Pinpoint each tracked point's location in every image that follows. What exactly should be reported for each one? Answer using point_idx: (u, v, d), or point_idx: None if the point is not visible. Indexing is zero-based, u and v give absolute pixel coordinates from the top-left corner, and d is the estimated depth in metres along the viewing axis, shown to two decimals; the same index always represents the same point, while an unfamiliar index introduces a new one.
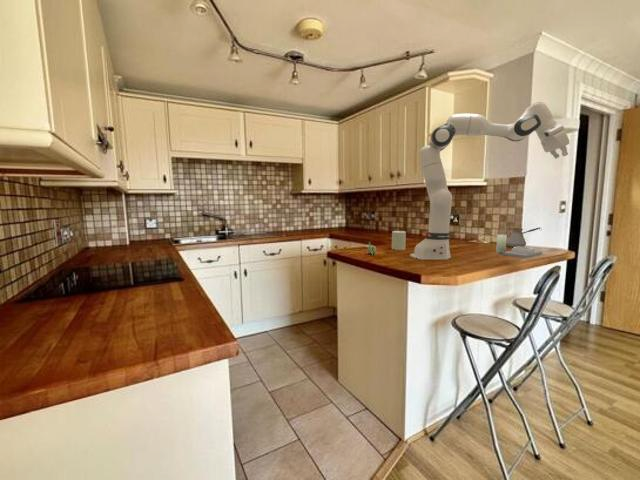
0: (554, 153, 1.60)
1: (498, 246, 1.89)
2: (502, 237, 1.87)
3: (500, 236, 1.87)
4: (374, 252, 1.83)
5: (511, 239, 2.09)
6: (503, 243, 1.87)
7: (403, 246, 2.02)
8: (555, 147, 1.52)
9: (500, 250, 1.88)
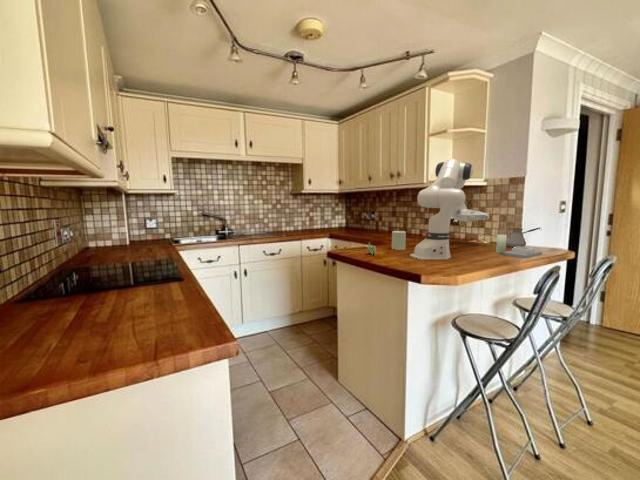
0: None
1: (498, 246, 1.89)
2: (502, 237, 1.87)
3: (500, 236, 1.87)
4: (374, 252, 1.84)
5: (511, 239, 2.09)
6: (503, 243, 1.87)
7: (403, 246, 2.02)
8: (480, 214, 2.12)
9: (500, 250, 1.88)
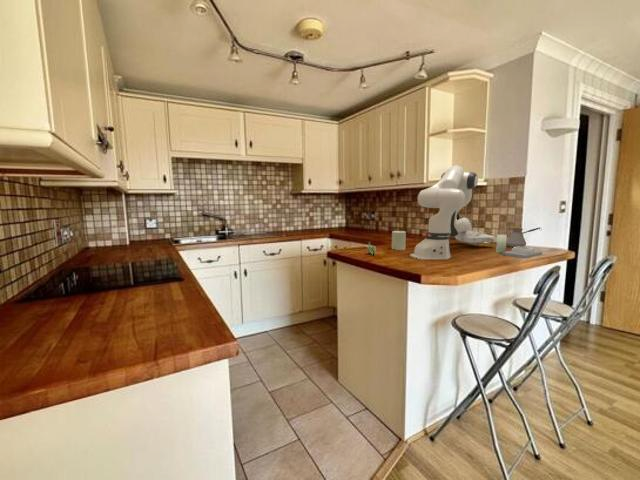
0: None
1: (498, 246, 1.89)
2: (502, 237, 1.87)
3: (500, 236, 1.87)
4: (374, 252, 1.84)
5: (511, 239, 2.09)
6: (503, 243, 1.87)
7: (403, 246, 2.02)
8: (486, 236, 2.06)
9: (500, 250, 1.88)
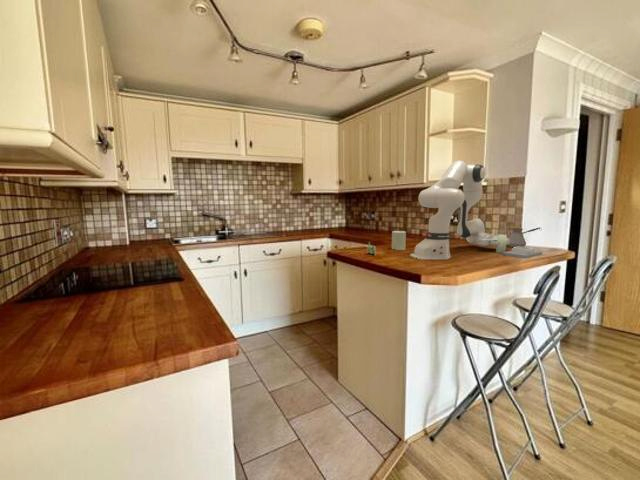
0: None
1: (498, 246, 1.89)
2: (502, 237, 1.87)
3: (500, 236, 1.87)
4: (374, 252, 1.84)
5: (511, 239, 2.09)
6: (503, 243, 1.87)
7: (403, 246, 2.02)
8: None
9: (500, 250, 1.88)
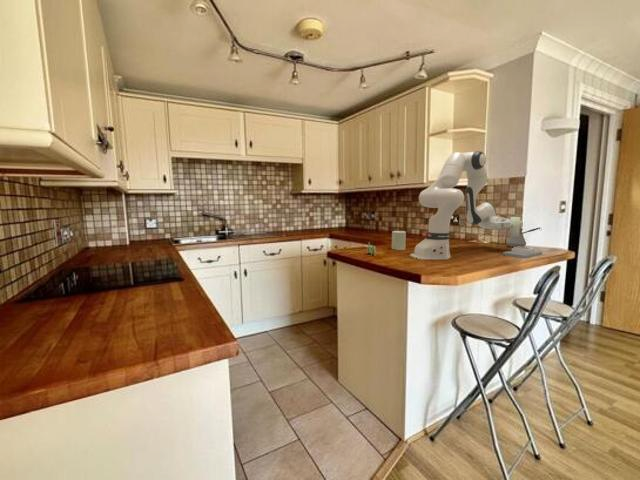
0: None
1: (512, 228, 1.84)
2: (516, 219, 1.82)
3: (514, 218, 1.83)
4: (373, 252, 1.84)
5: (511, 239, 2.09)
6: (517, 225, 1.82)
7: (403, 246, 2.02)
8: None
9: (513, 232, 1.83)
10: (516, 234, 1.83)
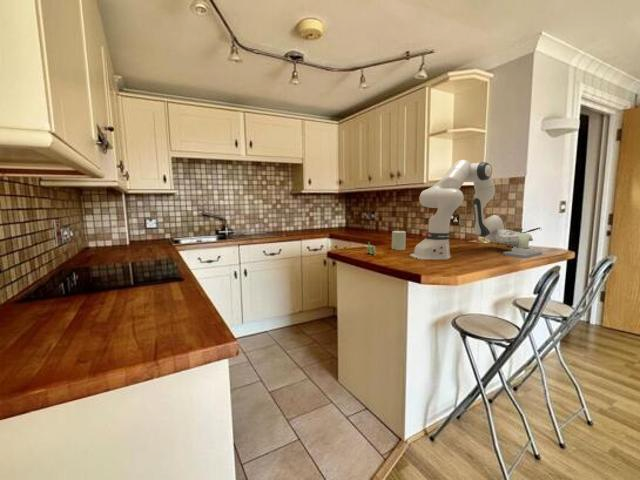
0: None
1: (520, 245, 1.82)
2: (525, 236, 1.80)
3: (522, 235, 1.81)
4: (373, 252, 1.84)
5: None
6: (526, 242, 1.81)
7: (403, 246, 2.02)
8: None
9: None
10: None
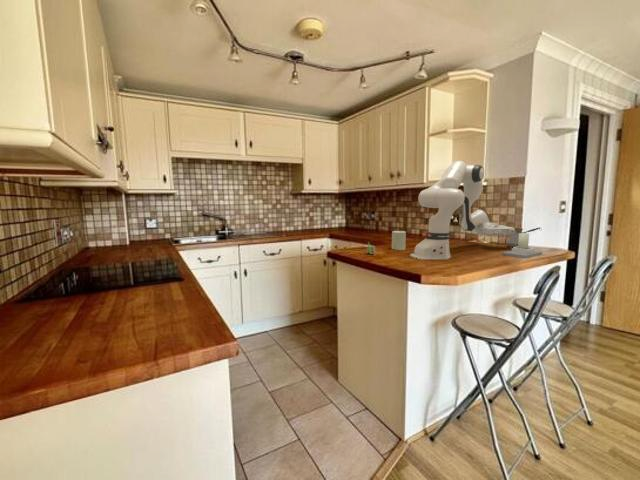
0: None
1: (520, 245, 1.82)
2: (524, 236, 1.80)
3: (522, 235, 1.81)
4: (373, 252, 1.84)
5: (511, 239, 2.09)
6: (525, 242, 1.81)
7: (403, 246, 2.02)
8: (506, 228, 2.00)
9: None
10: None
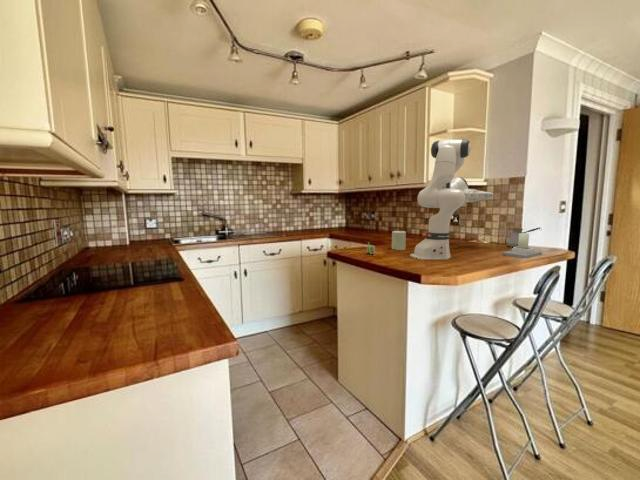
0: None
1: (520, 245, 1.82)
2: (524, 236, 1.80)
3: (522, 235, 1.81)
4: (373, 252, 1.84)
5: (511, 239, 2.09)
6: (525, 242, 1.81)
7: (403, 246, 2.02)
8: (484, 192, 2.00)
9: None
10: None
